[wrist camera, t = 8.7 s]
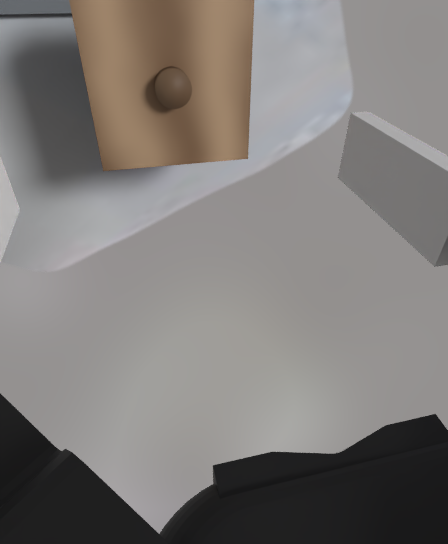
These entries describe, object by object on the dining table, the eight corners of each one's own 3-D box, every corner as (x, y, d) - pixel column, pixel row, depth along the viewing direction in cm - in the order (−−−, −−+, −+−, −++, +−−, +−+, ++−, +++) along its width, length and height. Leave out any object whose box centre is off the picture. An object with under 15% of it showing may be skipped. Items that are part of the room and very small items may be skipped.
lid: (104, 151, 32) (103, 176, 28) (71, -17, 25) (64, -15, 21) (235, 141, 33) (251, 163, 30) (238, -18, 27) (259, -16, 23)
